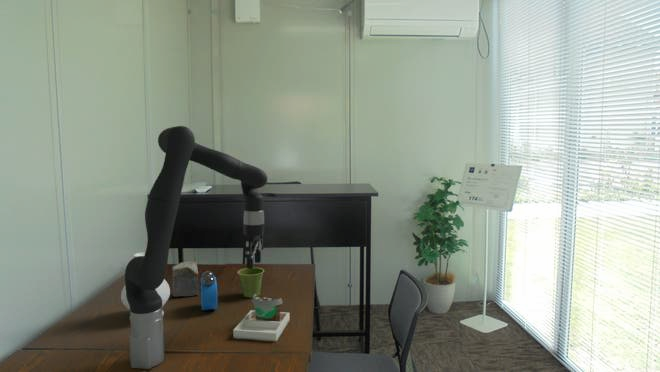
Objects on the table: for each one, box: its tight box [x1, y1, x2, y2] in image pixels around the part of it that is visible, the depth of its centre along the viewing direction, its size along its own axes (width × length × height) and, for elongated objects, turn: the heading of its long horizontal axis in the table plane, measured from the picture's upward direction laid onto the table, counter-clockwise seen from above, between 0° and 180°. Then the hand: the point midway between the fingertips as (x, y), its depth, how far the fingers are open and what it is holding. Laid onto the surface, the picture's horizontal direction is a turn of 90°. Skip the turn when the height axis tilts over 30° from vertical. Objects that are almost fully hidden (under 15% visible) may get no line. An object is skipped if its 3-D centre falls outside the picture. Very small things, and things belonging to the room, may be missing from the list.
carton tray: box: [232, 309, 291, 342], centre depth 161 cm, size 18×16×3 cm
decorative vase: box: [120, 251, 171, 317], centre depth 171 cm, size 18×18×25 cm
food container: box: [251, 294, 283, 322], centre depth 163 cm, size 12×6×10 cm, turn 66°
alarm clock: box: [199, 270, 218, 312], centre depth 179 cm, size 13×6×15 cm, turn 19°
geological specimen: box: [171, 260, 200, 298], centre depth 195 cm, size 11×6×15 cm, turn 115°
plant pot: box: [237, 267, 265, 299], centre depth 195 cm, size 12×12×11 cm
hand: (253, 265), depth 162 cm, fingers open, 8 cm apart
